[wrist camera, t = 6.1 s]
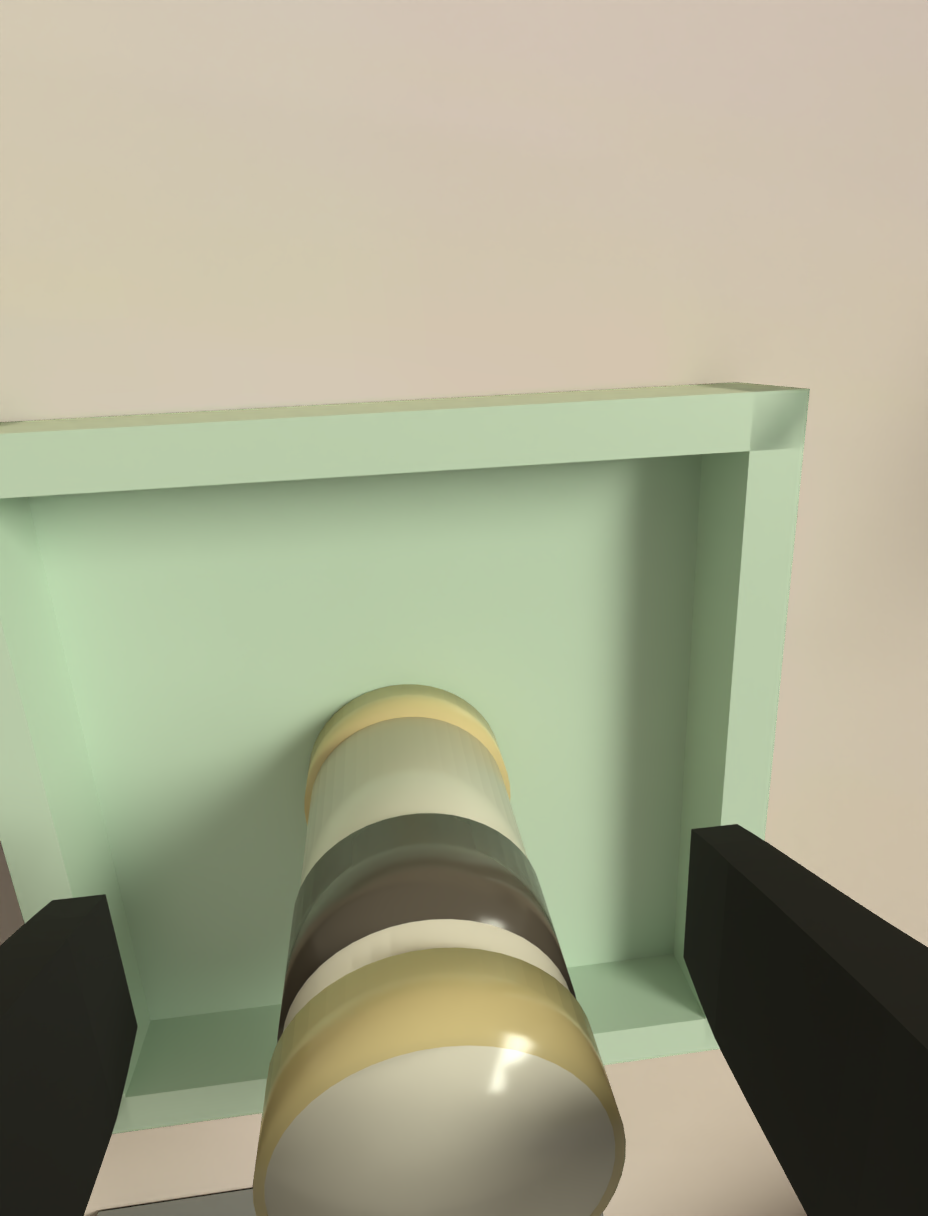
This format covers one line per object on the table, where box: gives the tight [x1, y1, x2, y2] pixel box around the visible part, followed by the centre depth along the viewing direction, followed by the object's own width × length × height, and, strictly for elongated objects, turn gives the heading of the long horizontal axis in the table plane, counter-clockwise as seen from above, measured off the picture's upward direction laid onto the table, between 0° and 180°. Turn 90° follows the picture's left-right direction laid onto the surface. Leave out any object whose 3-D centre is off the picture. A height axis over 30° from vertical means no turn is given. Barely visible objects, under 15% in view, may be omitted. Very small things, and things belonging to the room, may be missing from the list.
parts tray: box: [0, 382, 810, 1134], centre depth 13 cm, size 12×12×2 cm
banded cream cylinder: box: [253, 684, 626, 1216], centre depth 10 cm, size 3×3×7 cm
